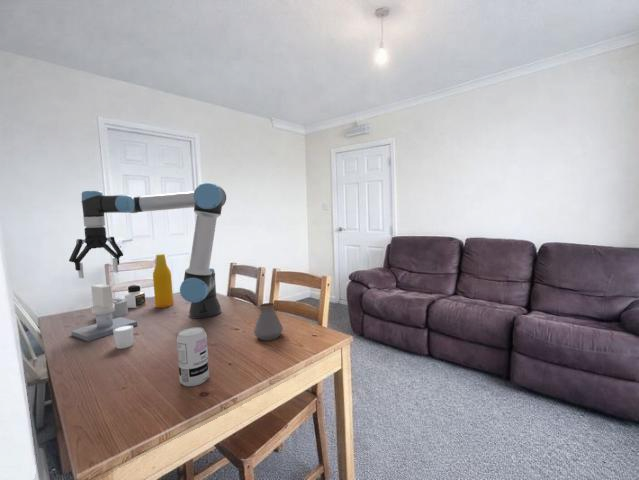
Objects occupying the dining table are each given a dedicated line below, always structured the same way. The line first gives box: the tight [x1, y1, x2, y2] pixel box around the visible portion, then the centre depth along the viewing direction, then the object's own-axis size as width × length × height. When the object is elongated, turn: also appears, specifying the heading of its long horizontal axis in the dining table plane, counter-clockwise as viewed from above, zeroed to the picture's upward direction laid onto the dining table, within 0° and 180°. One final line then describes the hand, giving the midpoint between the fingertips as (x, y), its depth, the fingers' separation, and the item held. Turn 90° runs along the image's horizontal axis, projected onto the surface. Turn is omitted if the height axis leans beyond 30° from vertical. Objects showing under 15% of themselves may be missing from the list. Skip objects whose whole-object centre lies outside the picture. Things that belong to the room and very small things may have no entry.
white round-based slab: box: [90, 283, 115, 316], centre depth 140 cm, size 12×8×12 cm
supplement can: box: [175, 326, 210, 387], centre depth 93 cm, size 8×8×15 cm
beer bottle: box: [152, 253, 174, 309], centre depth 177 cm, size 9×9×29 cm
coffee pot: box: [243, 294, 284, 341], centre depth 128 cm, size 21×12×15 cm, turn 46°
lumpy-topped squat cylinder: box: [112, 297, 129, 319], centre depth 162 cm, size 10×13×9 cm
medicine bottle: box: [124, 284, 146, 309], centre depth 179 cm, size 7×7×12 cm
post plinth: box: [70, 312, 138, 342], centre depth 141 cm, size 15×20×8 cm
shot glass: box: [113, 325, 134, 350], centre depth 122 cm, size 7×7×7 cm
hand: (99, 275), depth 139 cm, fingers open, 13 cm apart
